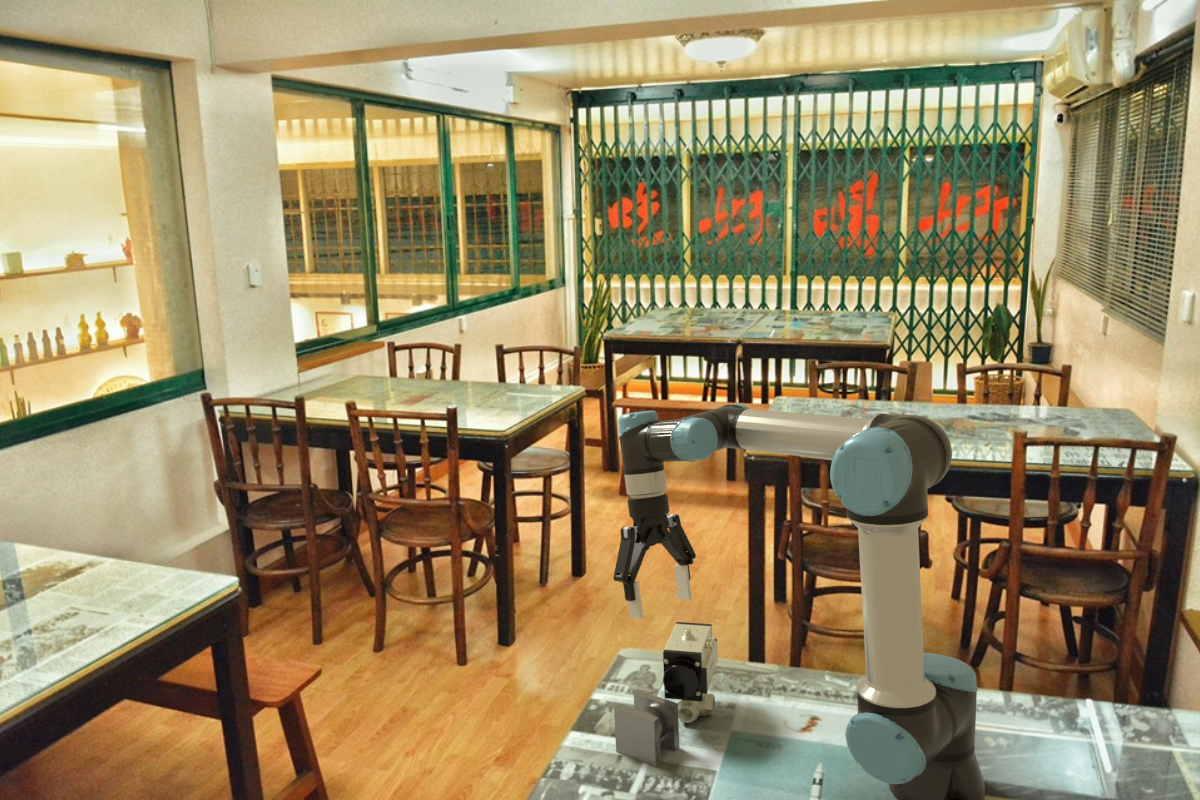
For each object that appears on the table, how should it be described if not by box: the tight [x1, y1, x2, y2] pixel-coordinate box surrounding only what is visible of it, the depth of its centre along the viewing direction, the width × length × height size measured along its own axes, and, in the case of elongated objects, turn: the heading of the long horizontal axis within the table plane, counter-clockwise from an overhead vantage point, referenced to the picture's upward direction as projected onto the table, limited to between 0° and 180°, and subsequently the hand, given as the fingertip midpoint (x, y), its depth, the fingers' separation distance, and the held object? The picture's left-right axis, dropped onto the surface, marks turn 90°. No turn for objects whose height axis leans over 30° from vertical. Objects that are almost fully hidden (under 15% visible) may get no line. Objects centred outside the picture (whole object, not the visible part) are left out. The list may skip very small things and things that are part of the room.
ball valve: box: [662, 621, 718, 724], centre depth 182 cm, size 18×8×18 cm, turn 165°
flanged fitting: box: [613, 689, 680, 768], centre depth 171 cm, size 9×8×9 cm
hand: (661, 608), depth 172 cm, fingers open, 13 cm apart
